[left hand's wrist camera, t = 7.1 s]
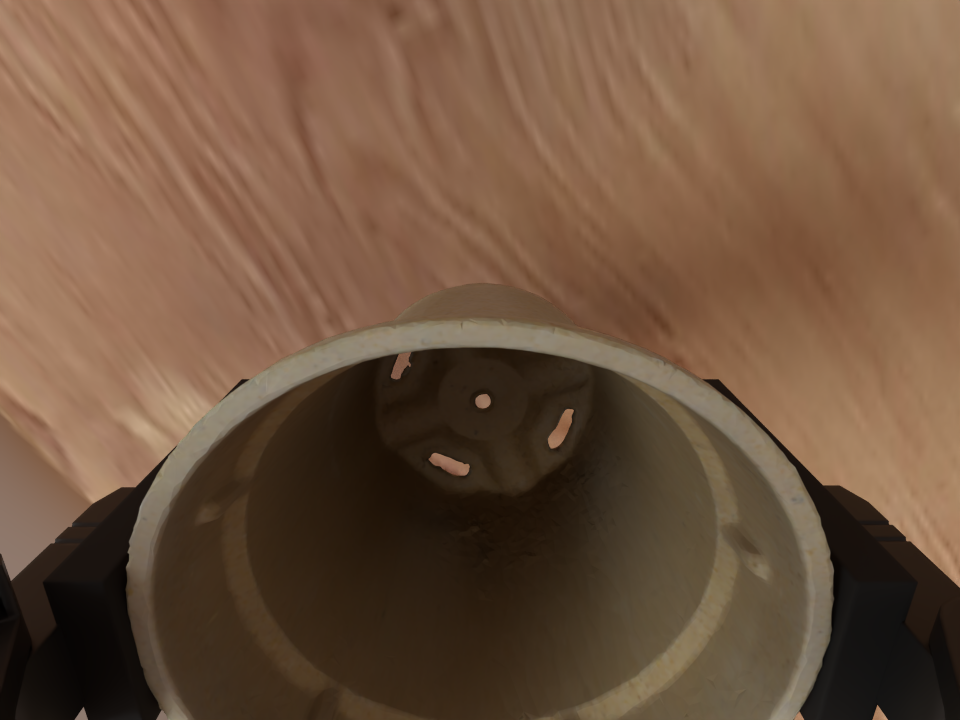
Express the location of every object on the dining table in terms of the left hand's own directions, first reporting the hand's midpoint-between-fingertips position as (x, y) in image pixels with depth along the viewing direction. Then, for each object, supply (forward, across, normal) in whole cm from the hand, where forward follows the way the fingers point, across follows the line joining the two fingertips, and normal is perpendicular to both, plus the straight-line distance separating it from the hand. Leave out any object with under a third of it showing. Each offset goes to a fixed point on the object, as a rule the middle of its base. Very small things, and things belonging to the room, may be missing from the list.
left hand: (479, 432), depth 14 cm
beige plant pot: (+2, 0, 0) cm, 2 cm away
